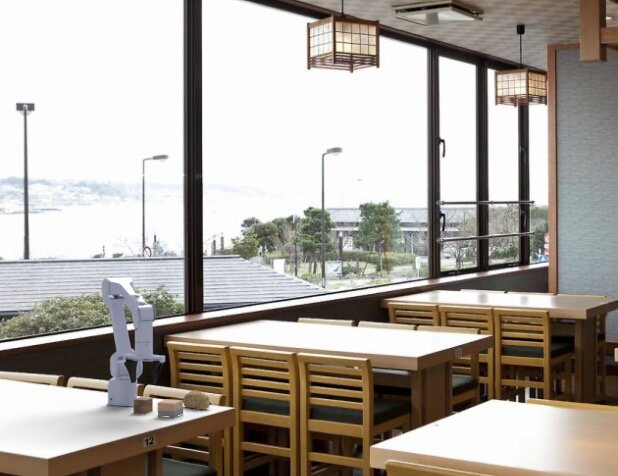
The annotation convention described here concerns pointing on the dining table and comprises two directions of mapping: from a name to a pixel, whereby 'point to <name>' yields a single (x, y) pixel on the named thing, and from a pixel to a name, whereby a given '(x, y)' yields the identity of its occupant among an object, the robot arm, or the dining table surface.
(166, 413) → the slab bottom
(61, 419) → the dining table surface
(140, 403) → the walnut block
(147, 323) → the robot arm
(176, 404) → the slab top
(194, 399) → the stone tool
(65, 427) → the dining table surface
